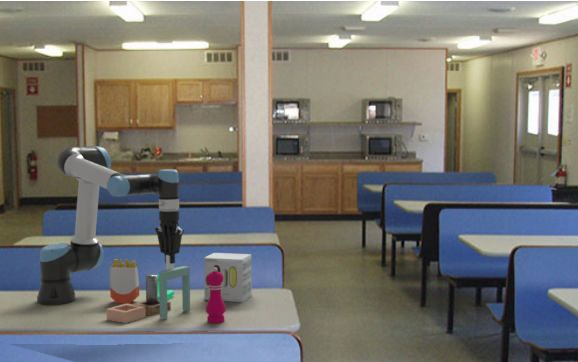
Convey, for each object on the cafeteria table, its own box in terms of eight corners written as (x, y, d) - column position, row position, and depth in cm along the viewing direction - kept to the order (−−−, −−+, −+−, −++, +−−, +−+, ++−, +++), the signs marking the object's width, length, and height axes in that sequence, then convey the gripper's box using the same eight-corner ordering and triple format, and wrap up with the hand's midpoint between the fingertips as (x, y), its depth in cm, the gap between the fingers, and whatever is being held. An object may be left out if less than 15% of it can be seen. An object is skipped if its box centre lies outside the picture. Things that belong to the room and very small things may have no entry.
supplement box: (203, 300, 279) (202, 257, 278) (214, 293, 292) (213, 252, 291) (243, 302, 275) (242, 259, 274) (252, 295, 288) (252, 253, 287)
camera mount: (163, 303, 276) (162, 278, 276) (146, 302, 278) (145, 277, 277) (175, 296, 288) (174, 272, 287) (158, 295, 290) (158, 272, 289)
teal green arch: (159, 317, 252) (158, 271, 251) (184, 309, 263) (183, 266, 262) (165, 318, 250) (164, 272, 249) (190, 310, 262) (189, 266, 260)
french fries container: (114, 300, 281) (113, 257, 280) (139, 300, 280) (138, 257, 279) (110, 302, 277) (109, 259, 276) (135, 303, 275) (134, 259, 274)
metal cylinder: (144, 311, 263) (143, 275, 262) (152, 308, 267) (151, 273, 266) (152, 312, 260) (151, 276, 260) (160, 310, 264) (159, 274, 263)
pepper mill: (206, 318, 251) (205, 265, 250) (225, 318, 251) (225, 265, 250) (205, 324, 244) (204, 269, 242) (225, 323, 244) (224, 268, 243)
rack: (106, 319, 251) (106, 308, 251) (126, 313, 259) (126, 303, 259) (125, 323, 245) (125, 312, 245) (145, 317, 254) (145, 306, 253)
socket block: (133, 311, 262) (133, 304, 262) (152, 306, 270) (152, 298, 270) (152, 315, 257) (152, 307, 256) (170, 309, 265) (170, 302, 265)
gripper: (149, 210, 256) (150, 271, 257) (174, 212, 249) (176, 275, 250) (163, 208, 262) (164, 268, 264) (188, 210, 255) (189, 271, 256)
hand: (170, 271), depth 257 cm, fingers closed
